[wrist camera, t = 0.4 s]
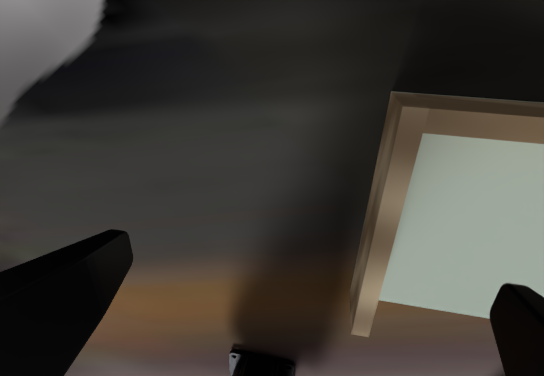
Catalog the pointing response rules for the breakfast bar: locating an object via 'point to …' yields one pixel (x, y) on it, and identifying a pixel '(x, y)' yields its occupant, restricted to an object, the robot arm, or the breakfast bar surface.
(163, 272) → the breakfast bar surface
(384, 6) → the breakfast bar surface
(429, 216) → the mat
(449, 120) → the corner walls
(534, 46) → the breakfast bar surface
